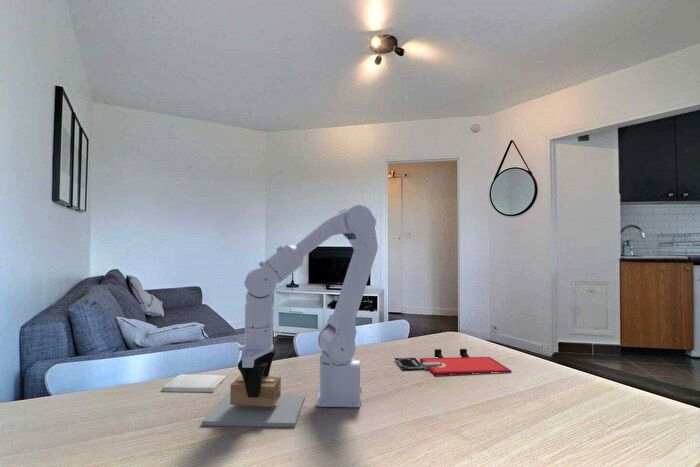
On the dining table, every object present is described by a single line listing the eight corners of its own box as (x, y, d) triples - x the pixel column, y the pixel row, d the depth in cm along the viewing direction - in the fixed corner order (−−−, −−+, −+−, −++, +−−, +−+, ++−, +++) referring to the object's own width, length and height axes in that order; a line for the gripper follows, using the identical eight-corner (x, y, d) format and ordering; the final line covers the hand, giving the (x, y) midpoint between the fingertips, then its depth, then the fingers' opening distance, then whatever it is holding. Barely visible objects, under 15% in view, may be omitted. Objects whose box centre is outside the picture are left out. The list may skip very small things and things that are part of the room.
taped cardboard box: (239, 393, 74) (240, 374, 74) (280, 395, 73) (280, 375, 73) (230, 404, 69) (230, 383, 69) (273, 406, 68) (274, 385, 68)
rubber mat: (304, 399, 77) (304, 395, 77) (295, 427, 65) (295, 422, 65) (225, 397, 77) (225, 394, 77) (201, 425, 65) (201, 421, 65)
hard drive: (162, 386, 80) (214, 387, 80) (180, 373, 89) (227, 374, 88) (162, 393, 80) (214, 394, 80) (180, 380, 89) (227, 380, 88)
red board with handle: (392, 359, 105) (406, 378, 90) (392, 350, 105) (407, 368, 90) (483, 357, 109) (511, 375, 94) (483, 348, 109) (511, 365, 94)
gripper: (250, 317, 79) (249, 377, 78) (227, 333, 64) (225, 406, 64) (280, 318, 79) (279, 377, 78) (264, 334, 64) (262, 407, 64)
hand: (257, 390), depth 71 cm, fingers closed on taped cardboard box, 5 cm apart
